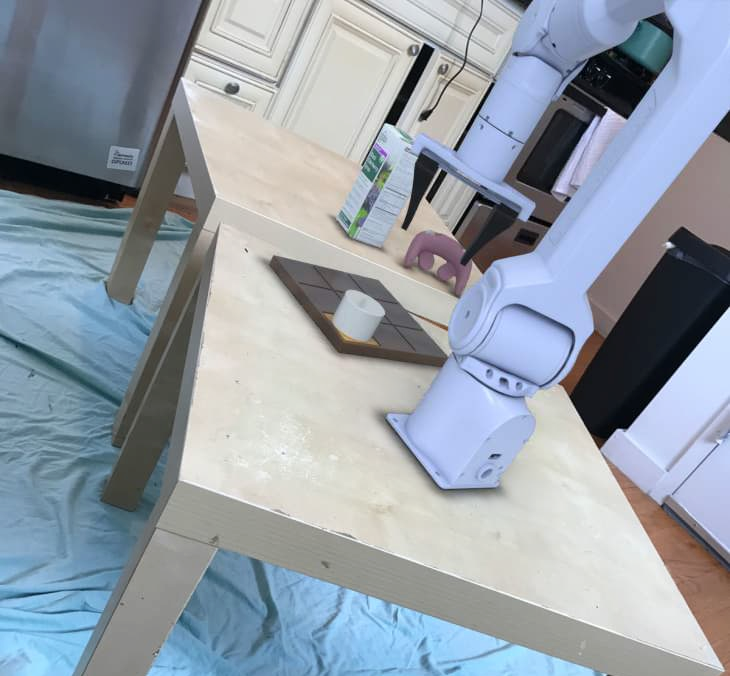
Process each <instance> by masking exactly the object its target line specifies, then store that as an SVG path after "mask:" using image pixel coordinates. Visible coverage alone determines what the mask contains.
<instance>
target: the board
mask: <svg viewBox="0 0 730 676" xmlns="http://www.w3.org/2000/svg"><path fill="white" fill-rule="evenodd" d="M269 266H270V268H272V270H273V271H274V272H275V274H276V275H277V276H278V277H279V278H280V280H281V281H282V282H283V284H284V285H285V286H286V287H287V289H288V290H289V291H290V293H291V294H292V295H293V296H294V297H295V299H296V301H298V303H299V304H300V305H301V307H302V308H303V309H304V311H305V312H306V313H307V314H308V315H309V317H310V318H311V319H312V320H313V322H314V323H315V324H316V325H317V327H318V328H319V329H320V331H321V332H322V333H323V334H324V336H325V337H326V338H327V339H328V341H329V342H330V343H331V345H332V346H333V347H334V349H335V350H336V351H337V352H338V353H342V354H349V355H356V356H364V357H370V358H378V359H384V360H385V359H386V360H392V361H399V362H400V361H401V362H405V363H406V362H407V363H414V364H422V365H428V366H435V367H441V368H442V367H443V365H444V364H445V362H446V361H447V359H448V357H449V355H447V353H446V352H445V351H444V350H443V349H442V348H441V346H440V345H439V344H438V343H437V342H436V341H435V340H434V339H433V338H432V337H431V336H430V335H429V333H428V332H427V331H426V330H425V329H424V328H423V327H422V326H421V325H420V324H419V322H418V321H417V320H416V319H415V318H414V317H413V316H412V315H411V314H410V312H409V311H408V310H407V309H406V308H405V307H404V305H403V304H401V303H400V301H398V300H397V298H396V297H395V296H394V295H393V294H392V293H391V292H390V290H388V289H387V287H386V286H385V285H384V284H383V283H382V281H380V280H379V279H376V278H372V277H368V276H363V275H360V274H355V273H351V272H347V271H342V270H338V269H334V268H330V267H325V266H322V265H317V264H314V263H309V262H305V261H301V260H296V259H291V258H288V257H284V256H280V255H275V254H273V255H272V257H271V259H270V261H269ZM347 290H356V291H359V292H362V293H364V294H366V295H368V296H370V297H371V298H373V299H374V300H375V301H377V302H378V303H379V304H380V305H381V306H382V307H383V309H384V310H385V315H384V317H383V319H382V320H381V322H380V324H379V326H378V327H377V329H376V331H375V333H374V334H373V336H372V338H371V340H370V341H368V342H360V341H357V340H354V339H352V338H350V337H348V336H346V335H344V334H343V333H342V332H340V331H339V330H338V329H337V328H336V327H335V326H334V324H333V323H332V317H333V315H334V313H335V311H336V309H337V307H338V305H339V303H340V302H341V300H342V298H343V296H344V294H345V292H346V291H347Z"/></svg>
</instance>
